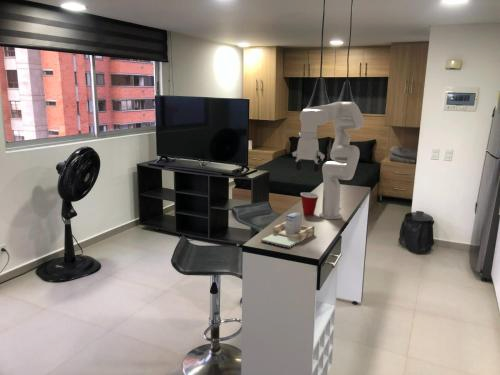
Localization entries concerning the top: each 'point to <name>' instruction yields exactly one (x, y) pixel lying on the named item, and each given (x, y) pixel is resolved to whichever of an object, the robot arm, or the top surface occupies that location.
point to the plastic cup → (309, 203)
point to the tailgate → (280, 240)
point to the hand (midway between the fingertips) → (307, 170)
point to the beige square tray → (300, 235)
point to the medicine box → (293, 223)
